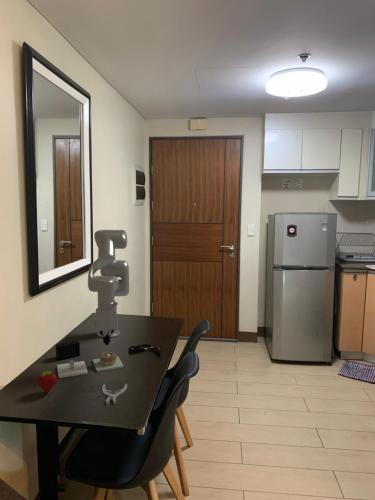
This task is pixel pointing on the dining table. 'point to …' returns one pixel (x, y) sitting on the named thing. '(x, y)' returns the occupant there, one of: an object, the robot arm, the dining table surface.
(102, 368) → the plate
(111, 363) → the collar
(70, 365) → the stand
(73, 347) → the digital camera
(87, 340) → the dining table surface
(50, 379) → the strawberry
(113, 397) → the pliers
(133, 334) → the dining table surface
